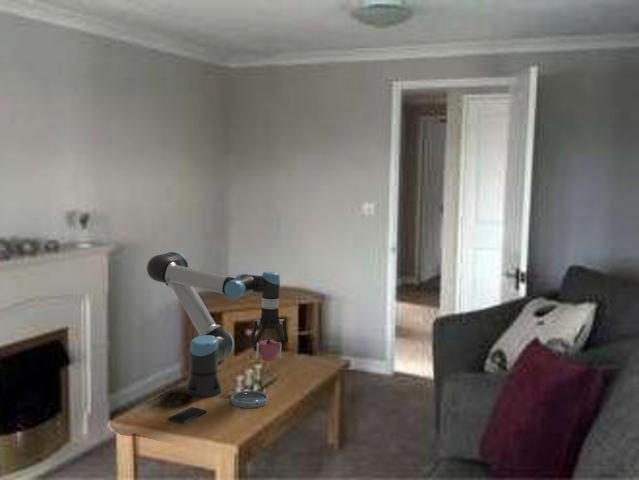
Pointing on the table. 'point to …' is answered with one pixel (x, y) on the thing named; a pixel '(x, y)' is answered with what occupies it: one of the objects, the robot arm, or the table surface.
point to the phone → (187, 415)
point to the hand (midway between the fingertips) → (268, 357)
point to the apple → (268, 349)
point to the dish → (250, 399)
